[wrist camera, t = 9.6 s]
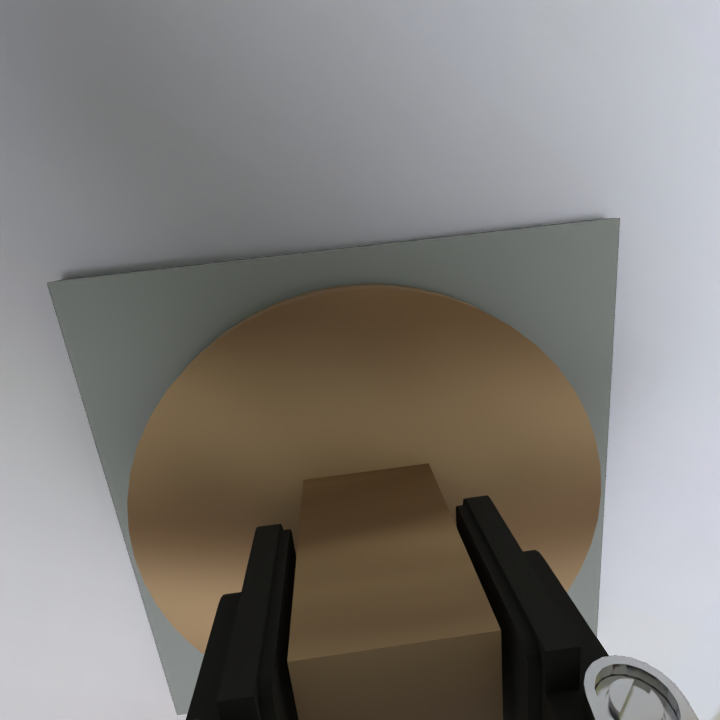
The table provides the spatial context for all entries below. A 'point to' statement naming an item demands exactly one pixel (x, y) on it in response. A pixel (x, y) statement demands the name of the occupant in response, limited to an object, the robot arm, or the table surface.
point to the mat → (319, 271)
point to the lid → (365, 489)
